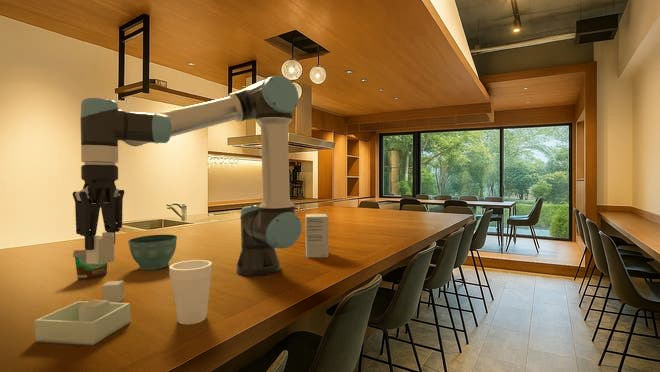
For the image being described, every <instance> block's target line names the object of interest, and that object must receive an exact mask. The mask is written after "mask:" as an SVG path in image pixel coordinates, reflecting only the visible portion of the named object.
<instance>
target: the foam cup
mask: <svg viewBox="0 0 660 372" xmlns="http://www.w3.org/2000/svg"><path fill="white" fill-rule="evenodd" d="M168 270H169V271H168V274H169V279H170V283H171V289H172V294H173V295H172V296H173V300H174V306H175V311H176V317H177V323H178V324H180V325H195V324H198V323H201V322H203V321H204V320H206V319H207V313H208V307H209V306H208V305H209V298H210V297H209V296H210V289H211V280H212V274H213V262H212V261H210V260H206V259H191V260H190V259H189V260H184V261H178V262H175V263H172V264H170V265H168Z"/></svg>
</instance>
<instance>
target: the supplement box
mask: <svg viewBox="0 0 660 372" xmlns="http://www.w3.org/2000/svg"><path fill="white" fill-rule="evenodd" d="M304 221H305V237H304V238H305V257H306V259H308V258H311V259H312V258H329V216H328V215H327V213H307V214H305V219H304Z"/></svg>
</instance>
